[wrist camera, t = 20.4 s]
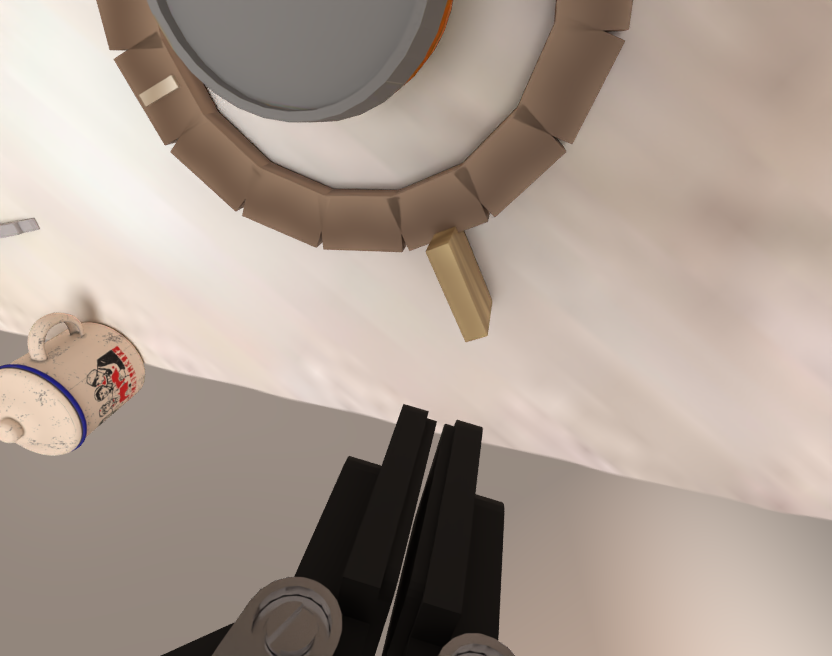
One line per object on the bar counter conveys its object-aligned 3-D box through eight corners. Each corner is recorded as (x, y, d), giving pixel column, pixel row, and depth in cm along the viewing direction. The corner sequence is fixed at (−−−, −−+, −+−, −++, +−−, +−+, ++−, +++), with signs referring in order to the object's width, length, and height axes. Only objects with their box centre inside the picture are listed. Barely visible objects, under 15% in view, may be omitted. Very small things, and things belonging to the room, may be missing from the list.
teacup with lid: (154, 406, 53) (66, 489, 43) (73, 386, 54) (-32, 464, 44) (139, 301, 47) (32, 369, 37) (48, 282, 48) (-80, 343, 38)
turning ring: (519, -675, 20) (516, -907, 16) (713, 230, 35) (744, 260, 30) (1, -167, 32) (-96, -208, 27) (308, 359, 46) (281, 396, 41)
